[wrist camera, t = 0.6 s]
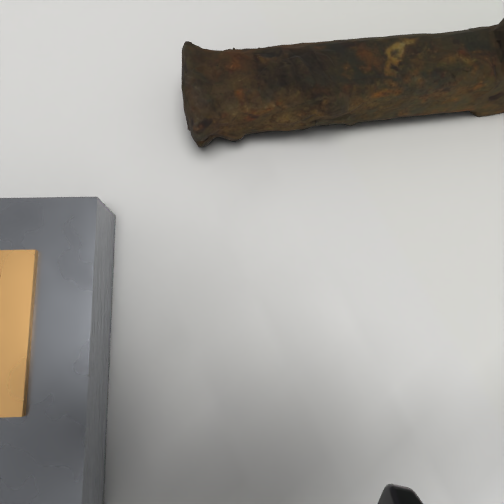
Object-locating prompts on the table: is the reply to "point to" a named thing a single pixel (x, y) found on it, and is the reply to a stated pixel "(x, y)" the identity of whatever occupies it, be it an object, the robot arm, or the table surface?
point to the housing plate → (54, 348)
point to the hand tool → (341, 82)
